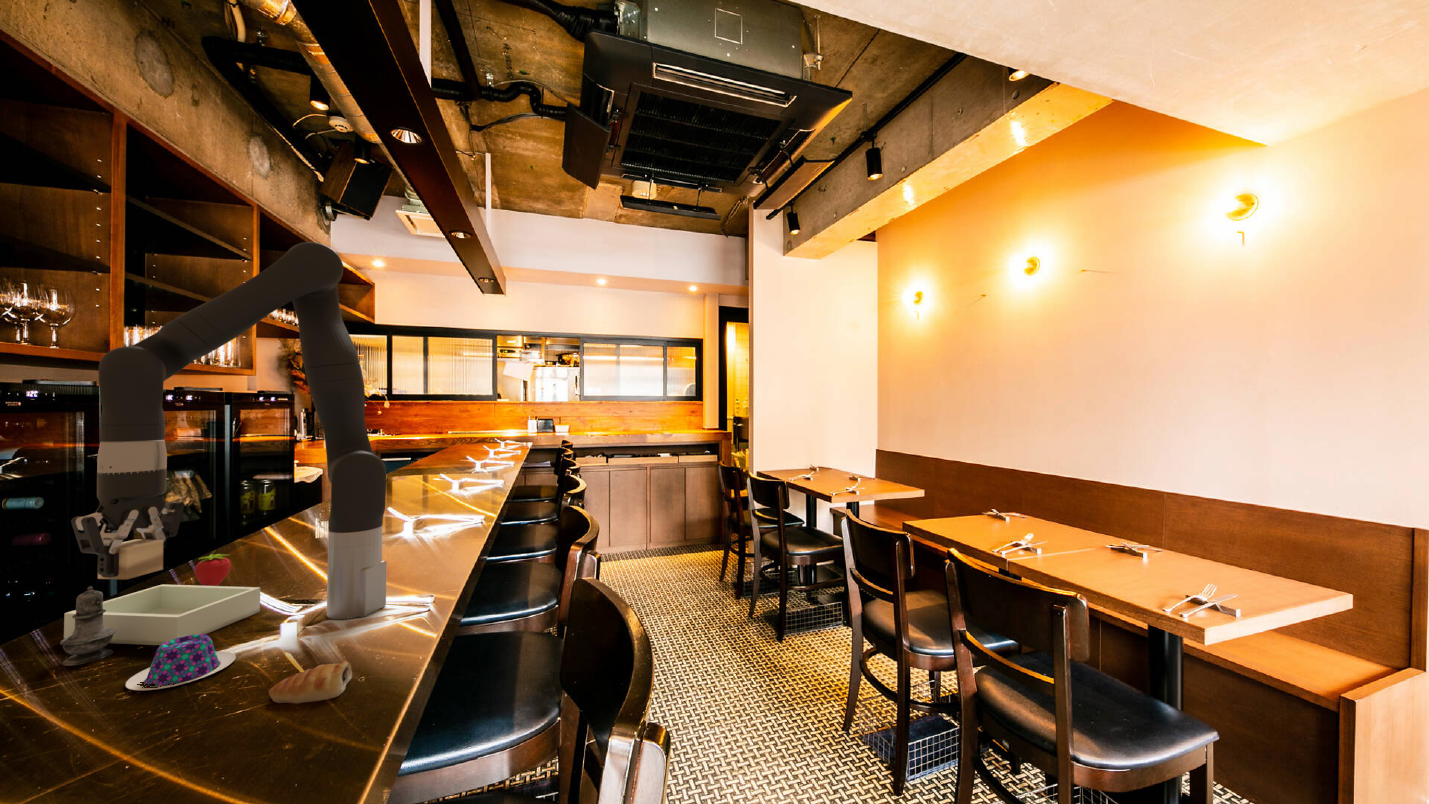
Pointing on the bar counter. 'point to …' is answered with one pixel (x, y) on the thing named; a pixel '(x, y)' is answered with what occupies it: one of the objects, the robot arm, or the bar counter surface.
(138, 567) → the maple block
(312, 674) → the pastry
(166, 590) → the tray
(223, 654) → the patterned hat
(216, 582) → the strawberry
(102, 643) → the dark grey tiered piece
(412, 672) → the bar counter surface
